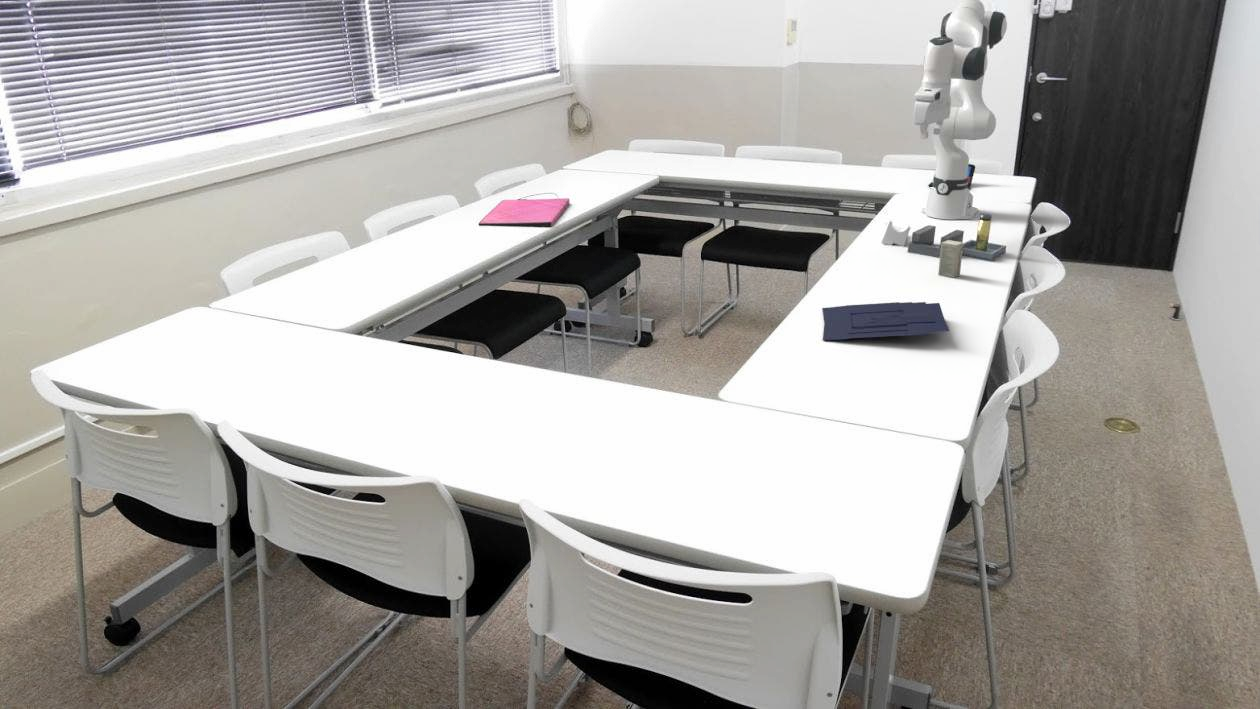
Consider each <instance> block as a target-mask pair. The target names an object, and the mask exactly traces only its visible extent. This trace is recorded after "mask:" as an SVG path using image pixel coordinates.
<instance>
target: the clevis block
mask: <svg viewBox="0 0 1260 709" xmlns="http://www.w3.org/2000/svg"><path fill="white" fill-rule="evenodd" d="M936 228H937V226H936V225H930V224H928V225H926V226H924V227H921V228H919V229H917V230H915V231H913V232H912V235H911V242H908V245H907V253H910V254H917V255H921V256H926V257H931V258H937V259H940V252H941V243H942V242H944V241H947V240H952V241H958V242H963V243H964V241H963V240H964V234H965V231H964V230H961V229H954V230H953V231H951V232H949V233H947V234H945V235H943V236H942V237H940V244H939V246H934V245H935V244H934V242H935V236H936Z"/></svg>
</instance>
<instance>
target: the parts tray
mask: <svg viewBox="0 0 1260 709" xmlns="http://www.w3.org/2000/svg"><path fill="white" fill-rule="evenodd" d="M975 246H976V239H975V240H974V239H970V240H968V241H966V242H963V251H962V257H964V258H965V257H966V258H970V259H977V260H981V261H987V262H991V261H992V262H993V261H995V260H997V259H998V258H1000V257H1002V256H1003V255H1005V254H1006V252H1007V245H1004V244H997V243H993V242H988V247H987V252H984V251H978V250H975ZM1001 255H1002V256H1001ZM996 258H997V259H996Z"/></svg>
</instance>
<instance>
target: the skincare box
mask: <svg viewBox="0 0 1260 709" xmlns="http://www.w3.org/2000/svg"><path fill="white" fill-rule="evenodd" d="M963 244H964V241H963V242H958V241H952V240H947V241H944V242H942V243H941V252H940V258H939V262H938V263H939V264H938V273H937V275H938V276H942V277H947V278H948V277H949V278H957V277H958V276H960V275H961V270H962V269H961V268H962V267H961V266H962V258H963V256H962V251H963Z"/></svg>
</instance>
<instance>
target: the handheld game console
mask: <svg viewBox="0 0 1260 709" xmlns="http://www.w3.org/2000/svg"><path fill="white" fill-rule="evenodd" d="M975 171H976V165H975V164H971V163H969V164H968V171H967V177H970V182H968V187H967V189H968V188H969V189H971V188H970V187H971V186H972V183H973V178H974V174H975ZM934 176H935V174H934V175H933V177H934ZM932 185H933V181H932V182H930V183H929V184H928V185H927V187H928V186H929V187H933V186H932ZM929 187H928V188H929ZM969 189H968V190H969Z"/></svg>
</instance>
